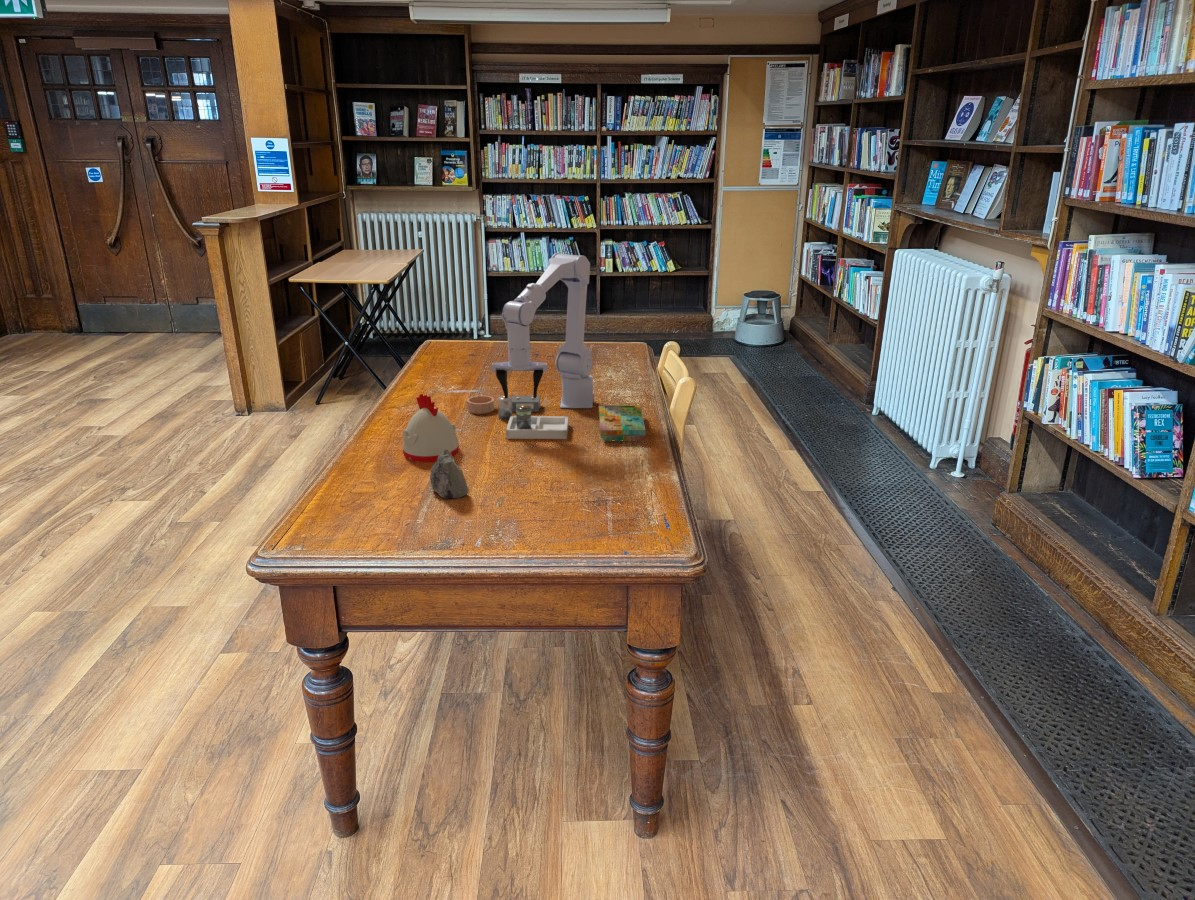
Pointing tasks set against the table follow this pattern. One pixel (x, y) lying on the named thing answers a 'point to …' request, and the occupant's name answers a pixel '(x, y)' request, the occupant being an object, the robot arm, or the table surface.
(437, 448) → the kitchen timer
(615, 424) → the puzzle game
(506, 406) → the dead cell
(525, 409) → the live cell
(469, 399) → the pink bowl
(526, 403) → the grey box with knobs
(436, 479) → the mineral rock
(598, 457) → the table surface
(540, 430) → the tray
